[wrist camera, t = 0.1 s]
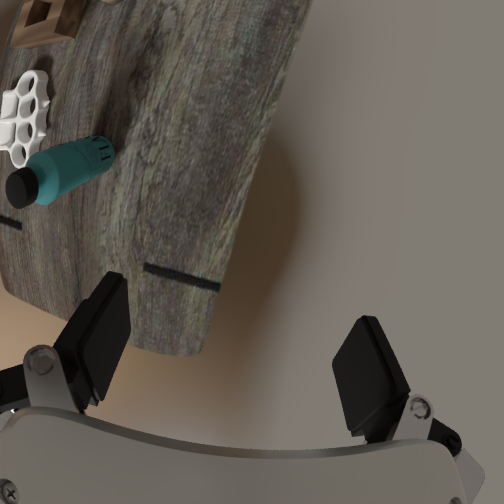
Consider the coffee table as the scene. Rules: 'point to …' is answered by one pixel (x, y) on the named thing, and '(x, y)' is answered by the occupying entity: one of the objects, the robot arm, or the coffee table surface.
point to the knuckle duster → (24, 117)
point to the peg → (112, 1)
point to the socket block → (47, 22)
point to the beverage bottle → (59, 171)
